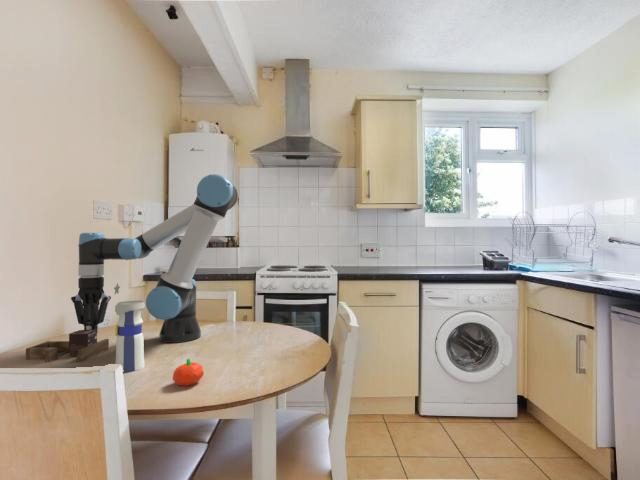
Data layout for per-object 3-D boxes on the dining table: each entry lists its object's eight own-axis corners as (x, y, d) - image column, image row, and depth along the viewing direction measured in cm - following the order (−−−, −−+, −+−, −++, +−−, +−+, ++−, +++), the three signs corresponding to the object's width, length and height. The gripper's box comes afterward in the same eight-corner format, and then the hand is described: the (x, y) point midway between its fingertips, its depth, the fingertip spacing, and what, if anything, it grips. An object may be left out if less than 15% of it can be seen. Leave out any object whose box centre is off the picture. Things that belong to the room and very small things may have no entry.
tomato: (167, 390, 90) (164, 364, 90) (189, 378, 98) (186, 355, 98) (189, 390, 88) (186, 363, 88) (210, 378, 95) (207, 354, 95)
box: (87, 355, 117) (87, 333, 117) (68, 356, 117) (68, 333, 117) (97, 350, 123) (97, 329, 123) (79, 350, 123) (79, 329, 123)
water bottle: (111, 375, 99) (111, 285, 100) (115, 365, 107) (115, 282, 108) (144, 370, 103) (144, 283, 103) (145, 362, 110) (145, 281, 111)
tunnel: (108, 348, 125) (108, 338, 125) (81, 361, 111) (81, 350, 111) (53, 349, 125) (53, 339, 125) (19, 362, 111) (19, 350, 111)
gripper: (116, 275, 129) (115, 341, 128) (80, 275, 129) (79, 341, 129) (102, 277, 121) (102, 347, 121) (65, 277, 121) (64, 346, 121)
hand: (90, 343), depth 125 cm, fingers closed
